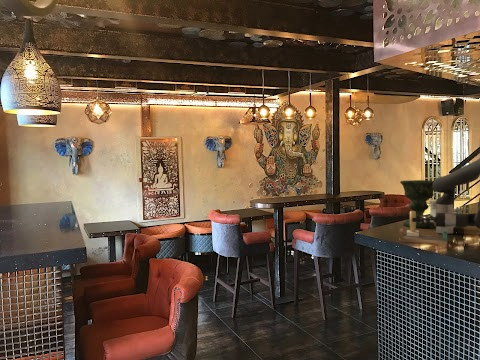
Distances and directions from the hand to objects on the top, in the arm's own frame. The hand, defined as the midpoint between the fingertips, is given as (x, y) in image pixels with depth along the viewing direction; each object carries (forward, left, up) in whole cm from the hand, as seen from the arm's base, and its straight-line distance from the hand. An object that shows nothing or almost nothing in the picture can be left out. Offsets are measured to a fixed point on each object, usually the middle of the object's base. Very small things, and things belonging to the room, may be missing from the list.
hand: (412, 218), depth 217 cm
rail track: (0, +5, -12) cm, 13 cm away
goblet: (-51, +4, -12) cm, 53 cm away
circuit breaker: (-73, +19, -12) cm, 76 cm away
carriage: (0, 0, -9) cm, 9 cm away
